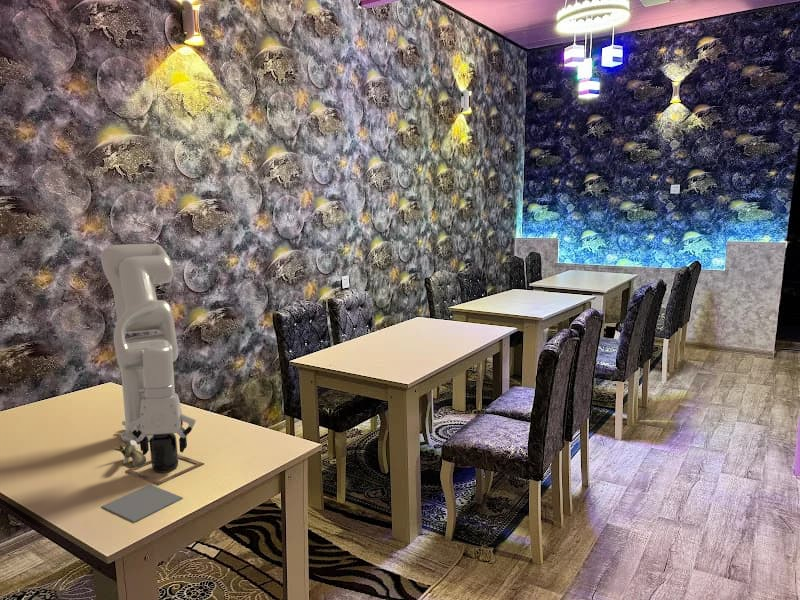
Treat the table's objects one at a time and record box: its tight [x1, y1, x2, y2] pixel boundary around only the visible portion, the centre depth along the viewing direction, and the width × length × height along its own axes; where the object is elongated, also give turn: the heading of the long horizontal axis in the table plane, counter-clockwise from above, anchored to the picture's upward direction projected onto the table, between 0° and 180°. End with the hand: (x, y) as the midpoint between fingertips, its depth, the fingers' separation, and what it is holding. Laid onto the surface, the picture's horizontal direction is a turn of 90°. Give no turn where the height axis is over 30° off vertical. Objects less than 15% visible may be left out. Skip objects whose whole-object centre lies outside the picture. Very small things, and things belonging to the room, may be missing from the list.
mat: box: [101, 484, 184, 524], centre depth 141 cm, size 13×13×1 cm
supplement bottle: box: [149, 433, 179, 473], centre depth 158 cm, size 7×7×12 cm
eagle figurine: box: [111, 440, 147, 467], centre depth 162 cm, size 8×7×9 cm
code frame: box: [124, 454, 205, 486], centre depth 159 cm, size 14×14×1 cm
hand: (164, 451), depth 158 cm, fingers open, 9 cm apart
